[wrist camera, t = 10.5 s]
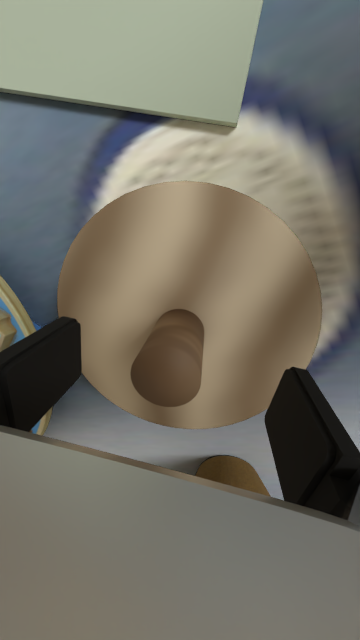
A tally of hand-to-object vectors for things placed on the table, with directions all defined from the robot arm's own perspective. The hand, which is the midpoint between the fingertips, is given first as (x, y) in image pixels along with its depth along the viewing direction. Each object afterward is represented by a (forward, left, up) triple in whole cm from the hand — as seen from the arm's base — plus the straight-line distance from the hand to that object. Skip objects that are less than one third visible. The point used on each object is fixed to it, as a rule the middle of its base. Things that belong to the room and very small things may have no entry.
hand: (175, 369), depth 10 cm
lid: (0, 0, -6) cm, 6 cm away
